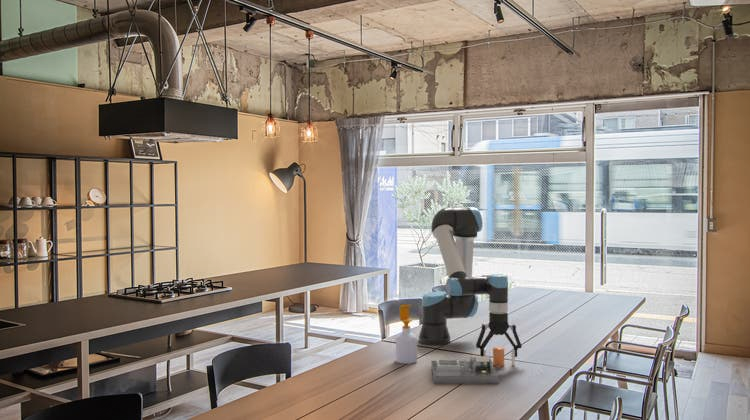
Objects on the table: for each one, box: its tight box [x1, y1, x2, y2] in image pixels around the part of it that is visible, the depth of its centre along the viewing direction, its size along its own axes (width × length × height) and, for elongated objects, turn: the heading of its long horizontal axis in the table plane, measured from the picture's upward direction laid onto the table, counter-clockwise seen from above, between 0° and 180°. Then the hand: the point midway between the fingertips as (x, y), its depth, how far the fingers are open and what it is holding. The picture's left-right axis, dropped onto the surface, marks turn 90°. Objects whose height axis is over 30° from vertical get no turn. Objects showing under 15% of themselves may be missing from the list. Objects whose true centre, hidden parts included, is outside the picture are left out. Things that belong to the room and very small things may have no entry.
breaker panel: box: [430, 355, 500, 385], centre depth 241 cm, size 20×24×6 cm
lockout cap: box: [492, 346, 505, 367], centre depth 255 cm, size 5×5×7 cm
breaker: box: [473, 355, 490, 363], centre depth 242 cm, size 9×5×2 cm, turn 178°
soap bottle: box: [395, 304, 418, 365], centre depth 262 cm, size 9×9×25 cm
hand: (498, 364), depth 255 cm, fingers open, 11 cm apart
